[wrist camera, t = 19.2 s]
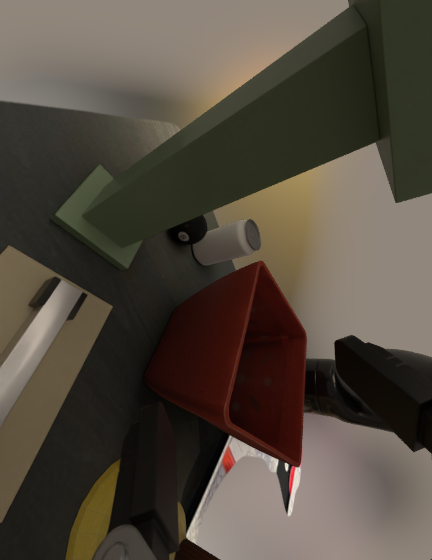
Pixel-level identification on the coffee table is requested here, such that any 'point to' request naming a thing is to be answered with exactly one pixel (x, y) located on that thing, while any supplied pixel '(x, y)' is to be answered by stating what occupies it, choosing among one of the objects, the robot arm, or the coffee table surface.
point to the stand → (279, 130)
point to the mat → (50, 372)
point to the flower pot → (238, 362)
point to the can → (228, 242)
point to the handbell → (97, 518)
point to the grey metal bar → (35, 338)
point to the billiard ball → (191, 230)
